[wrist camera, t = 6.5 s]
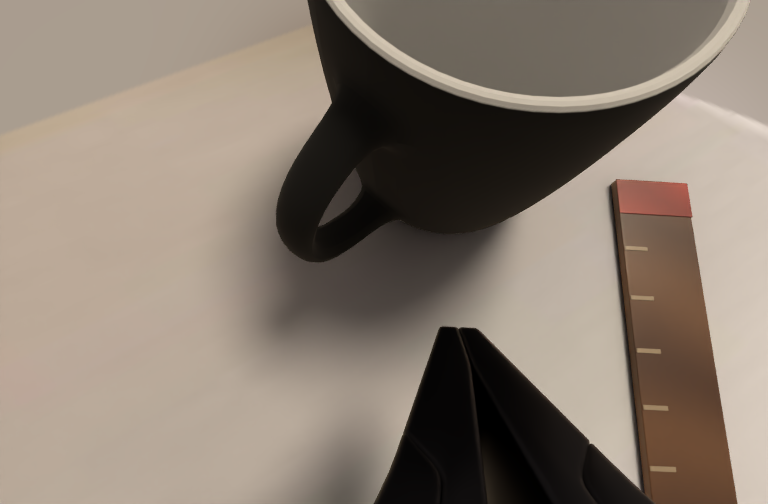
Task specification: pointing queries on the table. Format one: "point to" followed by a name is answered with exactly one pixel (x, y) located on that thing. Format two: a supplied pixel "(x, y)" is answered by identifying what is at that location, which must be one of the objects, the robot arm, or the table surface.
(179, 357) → the table surface
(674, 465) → the ruler
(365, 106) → the mug
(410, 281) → the table surface
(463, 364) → the robot arm
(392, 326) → the table surface
